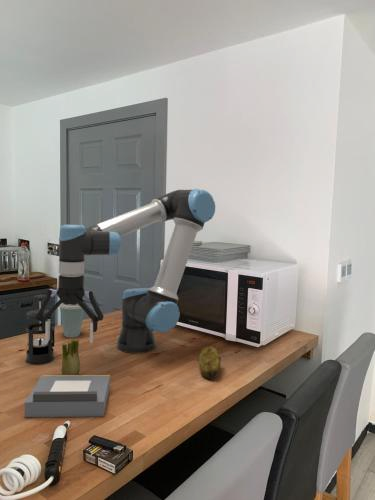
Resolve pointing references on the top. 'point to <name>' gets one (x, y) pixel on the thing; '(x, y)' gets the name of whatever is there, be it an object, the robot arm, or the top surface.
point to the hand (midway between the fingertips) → (69, 341)
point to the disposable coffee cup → (71, 319)
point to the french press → (39, 340)
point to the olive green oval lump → (209, 362)
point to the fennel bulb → (70, 358)
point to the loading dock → (68, 396)
